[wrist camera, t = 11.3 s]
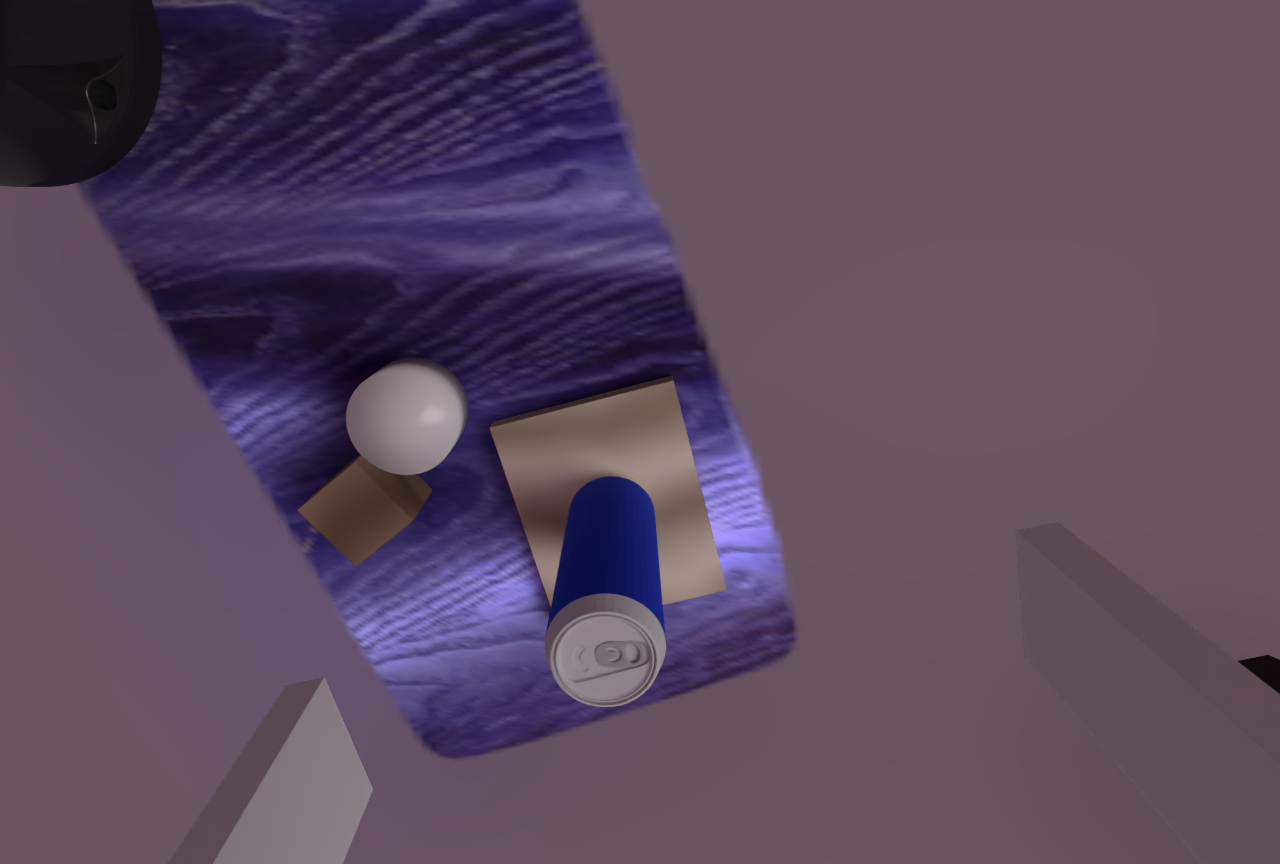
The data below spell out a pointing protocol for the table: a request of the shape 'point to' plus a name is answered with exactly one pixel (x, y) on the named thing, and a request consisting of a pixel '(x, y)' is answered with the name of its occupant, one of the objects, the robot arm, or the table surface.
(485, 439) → the table surface
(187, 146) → the table surface
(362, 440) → the pale pink rounded block
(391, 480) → the walnut block
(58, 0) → the robot arm
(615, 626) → the beverage can
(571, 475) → the board
